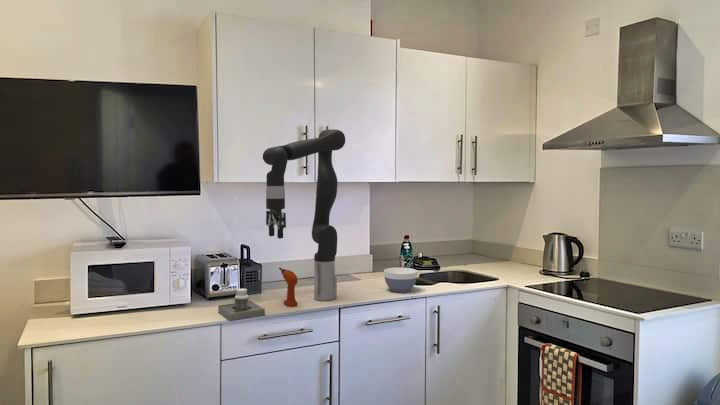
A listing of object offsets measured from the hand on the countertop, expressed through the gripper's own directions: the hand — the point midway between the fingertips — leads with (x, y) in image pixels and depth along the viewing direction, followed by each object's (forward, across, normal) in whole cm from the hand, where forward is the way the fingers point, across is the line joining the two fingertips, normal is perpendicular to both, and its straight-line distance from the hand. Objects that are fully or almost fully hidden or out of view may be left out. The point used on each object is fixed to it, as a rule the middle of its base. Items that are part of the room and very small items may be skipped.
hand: (275, 237), depth 205 cm
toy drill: (+30, +9, -9) cm, 33 cm away
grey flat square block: (+30, +2, +14) cm, 33 cm away
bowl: (+31, +1, -65) cm, 72 cm away
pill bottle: (+30, +2, +14) cm, 33 cm away
